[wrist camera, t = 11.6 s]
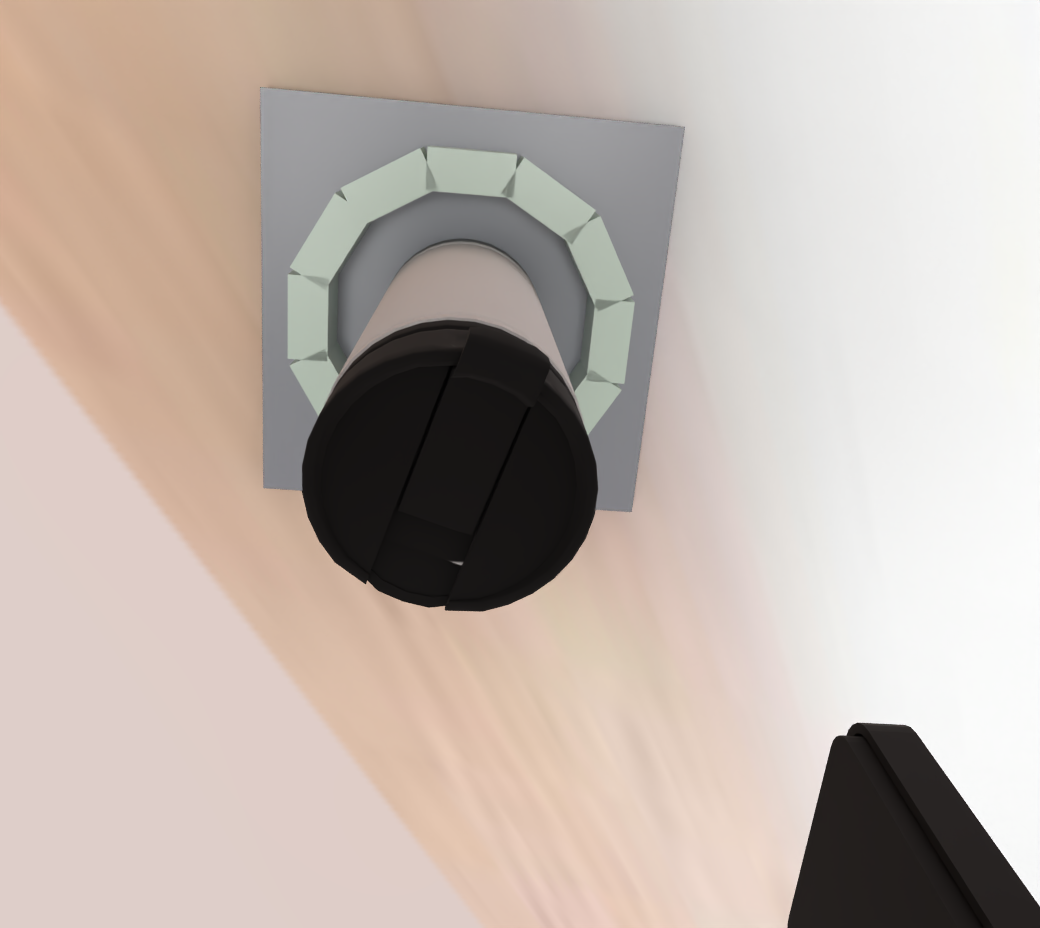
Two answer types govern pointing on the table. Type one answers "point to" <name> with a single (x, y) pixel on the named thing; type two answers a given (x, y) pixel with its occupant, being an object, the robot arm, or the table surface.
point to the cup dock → (461, 215)
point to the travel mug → (453, 440)
